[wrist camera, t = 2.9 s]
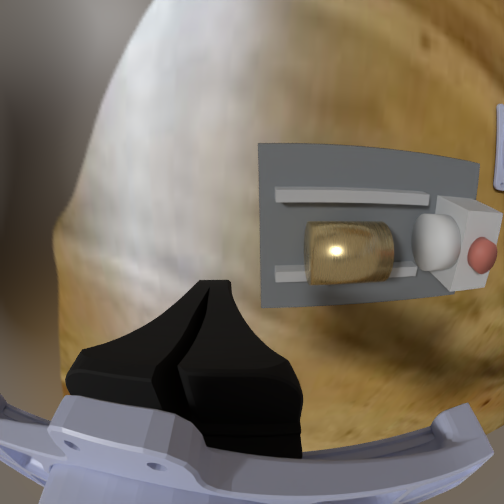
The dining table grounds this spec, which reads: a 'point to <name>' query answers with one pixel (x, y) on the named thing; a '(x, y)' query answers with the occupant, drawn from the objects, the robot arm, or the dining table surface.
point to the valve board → (373, 209)
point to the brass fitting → (347, 252)
